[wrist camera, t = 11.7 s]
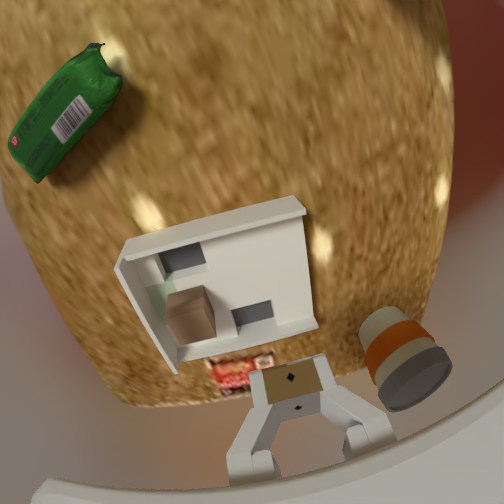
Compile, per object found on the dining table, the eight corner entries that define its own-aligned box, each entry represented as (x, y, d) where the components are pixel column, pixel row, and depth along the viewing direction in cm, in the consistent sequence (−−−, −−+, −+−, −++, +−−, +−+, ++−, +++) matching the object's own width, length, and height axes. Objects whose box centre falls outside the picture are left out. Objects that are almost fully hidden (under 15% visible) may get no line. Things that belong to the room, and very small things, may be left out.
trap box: (293, 195, 33) (312, 216, 28) (308, 307, 42) (323, 338, 36) (126, 239, 33) (113, 268, 27) (175, 340, 41) (174, 374, 36)
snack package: (141, 85, 25) (129, 82, 20) (48, 183, 27) (26, 197, 23) (104, 43, 22) (87, 34, 17) (16, 144, 24) (-8, 153, 20)
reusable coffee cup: (338, 328, 46) (376, 400, 33) (400, 284, 43) (452, 346, 30) (361, 359, 52) (393, 419, 39) (414, 322, 49) (454, 377, 36)
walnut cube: (202, 284, 34) (203, 309, 30) (214, 312, 37) (216, 337, 33) (167, 294, 34) (165, 319, 30) (181, 320, 36) (180, 345, 33)
